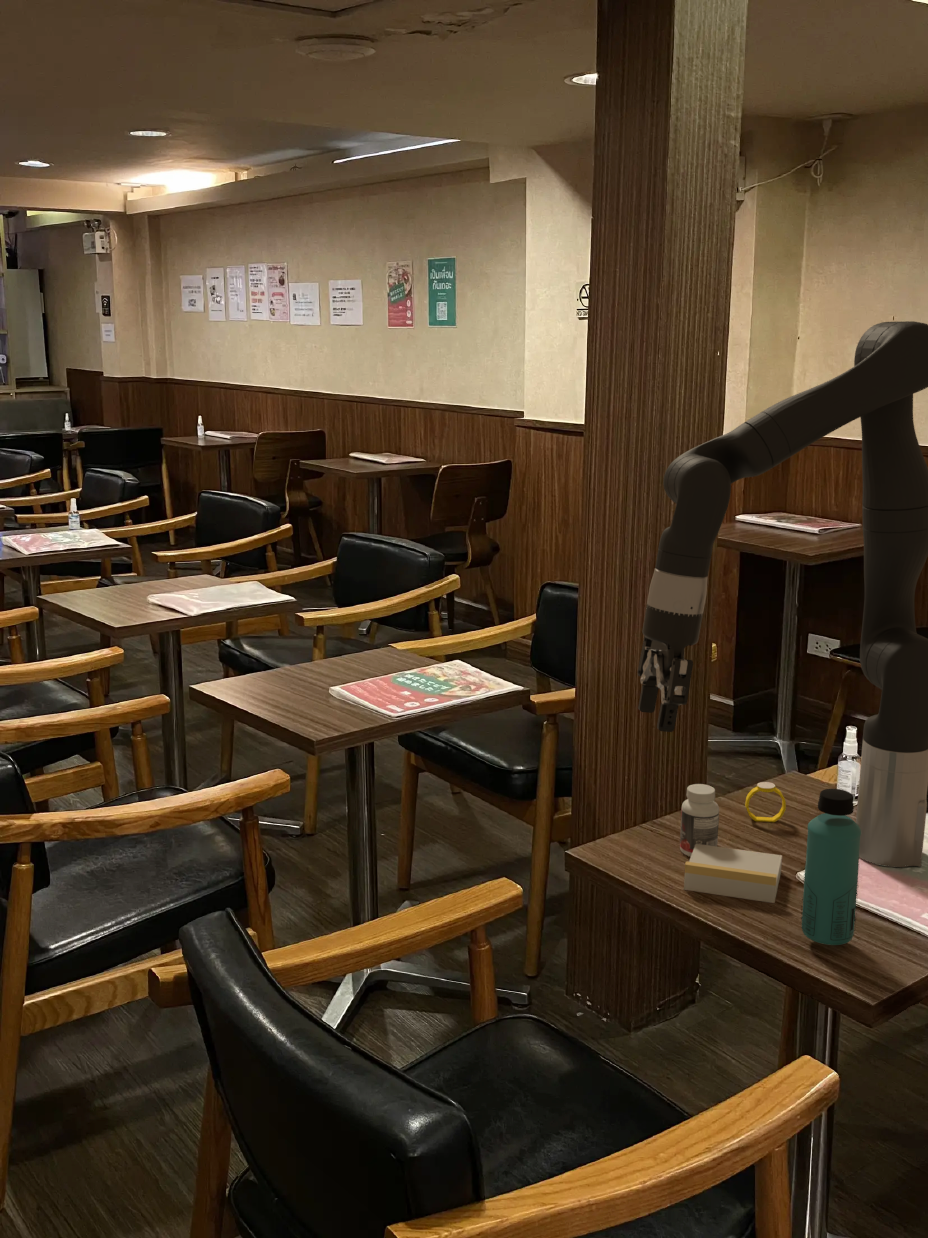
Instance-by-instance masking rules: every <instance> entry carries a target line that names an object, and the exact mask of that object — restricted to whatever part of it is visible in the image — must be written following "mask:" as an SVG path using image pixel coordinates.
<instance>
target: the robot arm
mask: <svg viewBox="0 0 928 1238" xmlns="http://www.w3.org/2000/svg"><path fill="white" fill-rule="evenodd" d="M853 362H854V363H853V364H854V365H853V367H850V368H849V369H848V370H846V371H844V372H842V373H841V374H839V375H837V376H835V377H833V378H831V379H829V380H827V381H825V382H822V383H821V384H819V385H818V384H817V385H815V386H813V387H811V388H809V389H806V390H804V391H801V392H798V393H796V394H794V395H791V396H788V397H787V398H785V399H783V400H780V401H778V402H776V403H775V404H773V405H770V406H769V407H767V408H766V409H763V410H762V411H761V412H759V413H757V414H756V415H754V416H752V417H751V418H749V419H748V420H746V421H744V422H743V423H741V424H739V425H738V426H737V427H735V428H733V429H732V430H730V431H729V432H727V433H725V434H722V435H720V436H717V437H715V438H712V439H710V440H708V441H706V442H703V443H702V444H699V445H696V446H695V447H693V448H691V449H689V450H687V451H685V452H684V453H682V454H680V455H679V456H678V457H676V458H675V459H674V460H673V461H671V462H670V464H669V465H668V467H667V468H666V470H665V473H664V475H663V489H664V492H665V493H666V495H667V497H668V499H670V501H672V502H673V503H675V509H674V512H673V516H672V520H671V524H670V526H668V527H666V528H665V529H663V531H662V533H661V536H660V539H659V543H658V547H657V548H658V550H657V553H656V560H655V566H654V567H655V568H654V569H653V570H654V571H653V574H652V578H651V581H650V585H649V589H648V596H647V601H646V607H645V612H644V618H643V624H642V625H643V626H642V631H641V632H642V635H643V637H644V638H643V642H642V647H641V650H640V657H639V663H638V668H637V676H638V677H640V679H639V680H640V684H641V691H640V696H639V702H638V706H637V708H638V710H639V711H640V712H641V713H649V714H652V713H654V712H655V710H656V705H657V699H658V693H659V690H660V700H661V703H660V707H659V711H658V712H659V713H658V719H657V724H656V728H657V730H659V731H660V732H666V733H673V732H674V730H675V728H676V721H677V716H678V711H679V706H681V705H684V706H685V705H687V703H688V698H689V691H690V687H691V686H690V685H691V679H692V673H693V667H694V661H693V660H692V659H685V648H687V647H688V646H694V645H696V644H697V643H698V642H699V638H700V632H701V627H702V621H703V617H704V610H705V607H706V606H705V605H706V598H707V593H708V576H709V573H710V566H711V561H712V556H713V555H712V554H713V546H714V544H715V541H716V538H717V536H718V534H719V532H720V530H721V527H722V524H723V521H724V518H725V515H726V514H727V511H728V507H729V504H730V499H731V494H732V493H731V492H732V484H733V483H736V482H737V481H738V480H741V479H745V478H754V477H755V478H756V477H759V476H760V475H763V474H765V473H766V472H769V471H770V470H771V469H774V467H777V466H778V465H779V464H782V463H783V462H785V461H787V460H788V459H789V458H791V457H793V456H795V455H796V454H797V453H799V452H801V451H802V450H804V449H805V448H807V447H808V446H811V445H812V444H813V443H815V442H817V441H819V440H820V439H822V438H824V437H826V436H827V435H829V434H831V433H833V432H834V431H837V430H839V429H840V428H842V427H843V426H845V425H848V424H850V423H851V422H853V421H855V420H857V419H859V418H860V427H861V468H862V469H861V471H862V475H861V476H862V477H861V478H862V499H861V501H862V502H861V503H862V505H861V508H862V514H861V515H862V536H863V578H864V603H863V612H862V625H861V634H860V635H861V637H860V644H859V645H860V646H859V647H860V648H859V662H860V663H859V664H860V667H861V671H862V673H863V675H864V676H865V677H866V680H867V681H869V683H870V684H872V685H873V686H875V687H876V688H878V689H880V690H881V693H880V694H881V696H880V702H879V709H878V714H874V715H871V716H869V717H867V719H865V722H864V724H863V732H862V733H863V735H862V745H861V746H862V747H861V756H860V757H861V759H860V769H859V771H860V772H859V781H858V795H857V804H856V805H857V806H856V815H855V817H856V818H855V823H856V824H857V825H858V826H859V827H860V829H861V836H860V849H859V859H860V858H861V859H862V860H864V859H865V860H864V861H866V862H868V861H869V862H868V863H871V862H872V863H871V864H874V863H875V864H874V865H878V866H883V867H891V868H905V867H913V866H914V867H921V866H922V860H923V851H924V839H925V831H926V830H925V829H926V820H927V819H926V818H927V810H928V809H927V808H928V802H927V799H928V798H927V795H928V638H927V637H925V636H923V635H920V634H918V633H917V628H916V616H915V613H916V612H915V596H916V595H915V593H916V587H917V583H918V580H919V578H920V575H921V572H922V570H923V568H924V567H925V564H926V562H927V558H928V465H927V463H926V460H925V457H924V454H923V452H922V451H923V450H921V447H920V443H919V440H918V438H917V434H916V429H915V425H914V423H915V421H914V394H917V393H918V392H921V391H924V390H925V389H927V388H928V323H924V322H919V321H912V320H911V321H882V322H879V323H876V324H873V325H871V326H870V327H869V328H868V329H867V330H865V332H864V333H863V334H862V335H861V337H860V338H859V340H858V342H857V345H856V348H855V351H854V359H853Z"/></svg>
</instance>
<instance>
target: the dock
mask: <svg viewBox="0 0 928 1238" xmlns="http://www.w3.org/2000/svg"><path fill="white" fill-rule="evenodd" d="M782 860H783V855H781V854H776V853H775V854H774V853H768V852H759V851H752V850H744V849H738V848H731V847H730V848H729V847H723V846H718V845H717V846H710V845H703V844H696V845H695V847H694V850H693V852H692V855H691V857H690V858H689V860H687V861H685V863H684V878H683V879H684V880H683V890H684V891H685V890H686V891H690V892H691V891H692V892H698V893H705V894H712V895H718V896H724V897H729V898H730V897H731V898H738V899H745V900H750V901H758V902H763V903H771V904H775V902H776V899H777V893H778V887H779V883H780V879H781V875H782V874H781V873H782V864H783V863H782V862H783V861H782Z"/></svg>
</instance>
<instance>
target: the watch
mask: <svg viewBox="0 0 928 1238" xmlns="http://www.w3.org/2000/svg"><path fill="white" fill-rule="evenodd" d="M759 792H762V793H776V794H777V795H778V796H779V797H780V798H781V808H780V809H779V811H778V813H776V814H775V815H774V816H772V817H771V816H769V817H767V816H756V815H755V814H754V813H753V812H751V809H750V800H751V799H752V797H753V796H754V795H755V794H757V793H759ZM786 803H787V802H786V798H785V797H784V795H783V792H782V791H781V790H780V789H779V788H777V787H776V785H775V783H773V782H769V781H761V782H758V783H757V784H756V786H754V787H753V788H751V790H750V791H749V792H748V793H747V795H746V797H745V803H744V806H745V809H746V812H747V814H748V817H750V818H751V819H752V820H753V821H754V822H757V823H758V822H760V823H763V822H767V823H776V822H777V821H779V820H781V818H782V817H783V816H784V814H785V812H786V809H787V807H786V806H787V804H786Z"/></svg>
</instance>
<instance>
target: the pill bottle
mask: <svg viewBox="0 0 928 1238" xmlns="http://www.w3.org/2000/svg"><path fill="white" fill-rule="evenodd" d="M685 796H686V798H687V799H685V800H684V801H683V802H682V805H681V813H680V833H679V834H680V835H679V836H680V837H679V849H680V850H679V851H681V853H682V854H684V855H685V856H686V857H687V856H688V857H690V858H691V855H692V852H693V850H694V847H695V845H696V844H703V845H710V846H717V847H718V842H719V841H718V840H719V839H718V837H719V821H720V807H719V804H718V803H717V802H716V801H715V800H716V789H715V788H714V787H712V786H710V785H709V784H703V783H694V784H690V785H688V786H687V788H686V795H685Z"/></svg>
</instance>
